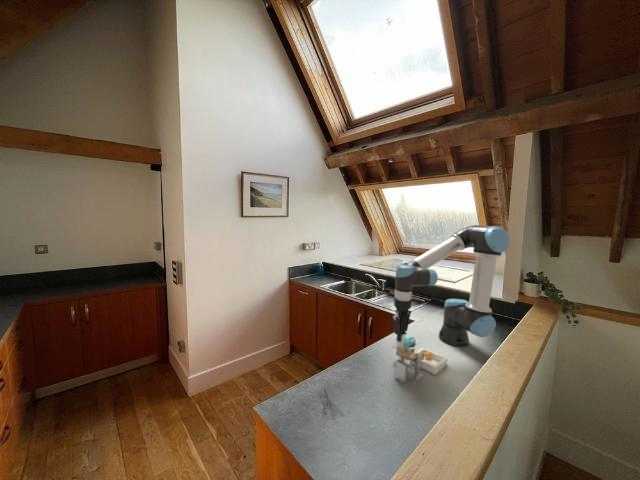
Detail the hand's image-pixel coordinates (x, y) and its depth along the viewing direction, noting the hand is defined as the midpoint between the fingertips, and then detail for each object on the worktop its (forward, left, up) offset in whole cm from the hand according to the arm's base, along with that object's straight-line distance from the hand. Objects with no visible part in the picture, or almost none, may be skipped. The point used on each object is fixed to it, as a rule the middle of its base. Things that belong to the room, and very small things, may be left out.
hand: (399, 347), depth 124 cm
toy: (-17, -7, -8) cm, 20 cm away
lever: (+5, +4, +1) cm, 7 cm away
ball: (-12, +8, -5) cm, 15 cm away
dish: (-9, +10, -7) cm, 15 cm away
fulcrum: (+7, +8, -7) cm, 13 cm away
